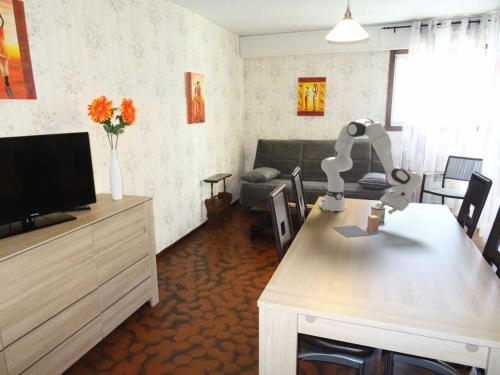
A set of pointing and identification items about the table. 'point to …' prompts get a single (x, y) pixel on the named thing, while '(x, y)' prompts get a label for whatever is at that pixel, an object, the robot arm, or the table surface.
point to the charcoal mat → (351, 231)
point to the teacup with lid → (378, 212)
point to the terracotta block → (373, 222)
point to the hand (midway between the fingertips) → (384, 211)
